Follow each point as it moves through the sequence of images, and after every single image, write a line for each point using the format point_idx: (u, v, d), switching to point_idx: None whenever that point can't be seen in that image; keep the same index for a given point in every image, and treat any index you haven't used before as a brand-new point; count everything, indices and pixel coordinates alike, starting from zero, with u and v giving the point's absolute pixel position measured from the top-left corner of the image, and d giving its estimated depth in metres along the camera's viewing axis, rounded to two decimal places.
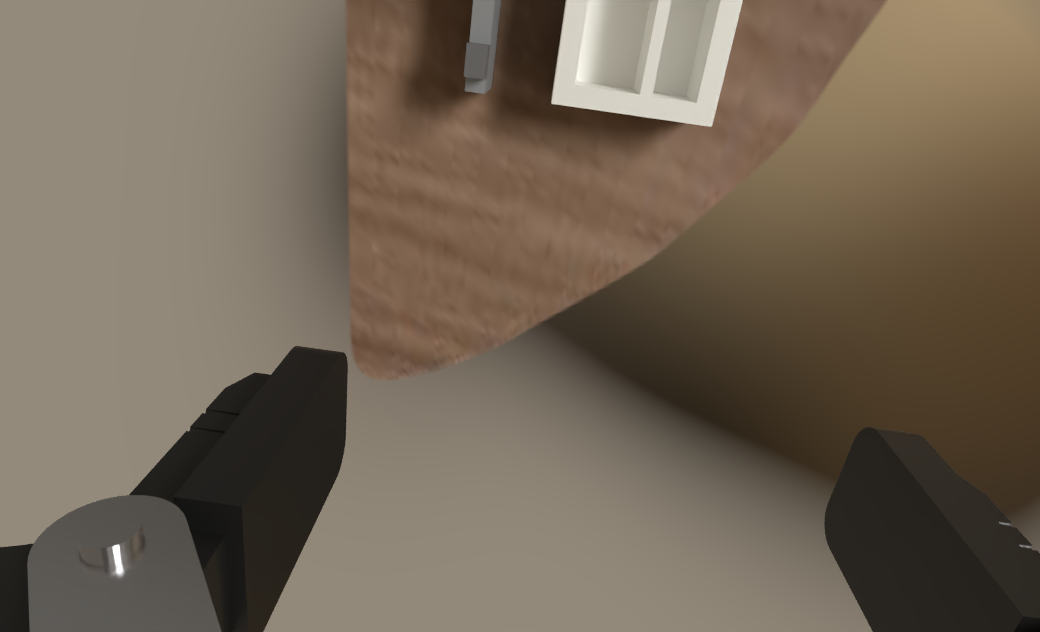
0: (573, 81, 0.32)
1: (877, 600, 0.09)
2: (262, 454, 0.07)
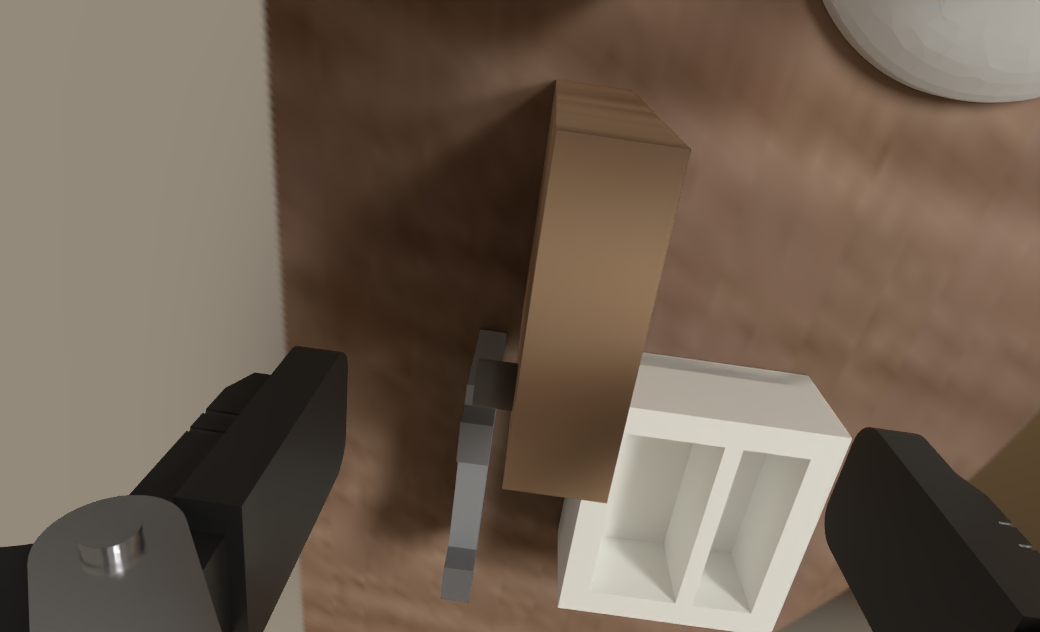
0: (587, 588, 0.24)
1: (876, 600, 0.09)
2: (262, 454, 0.07)
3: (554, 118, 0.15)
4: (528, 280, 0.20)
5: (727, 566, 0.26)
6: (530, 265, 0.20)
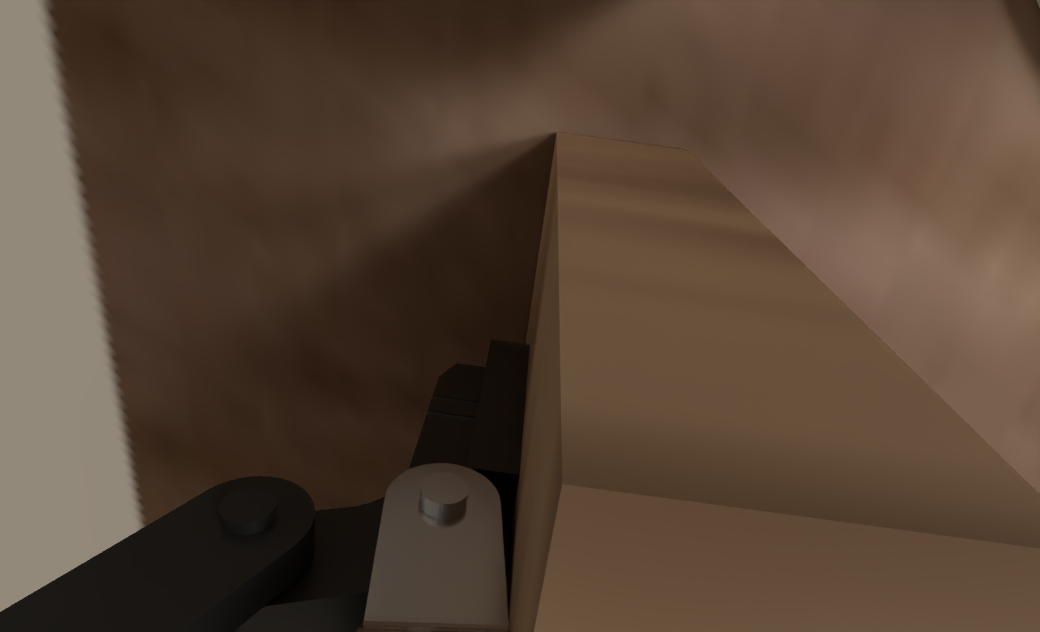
0: None
1: None
2: (517, 432, 0.08)
3: (553, 267, 0.06)
4: None
5: None
6: None
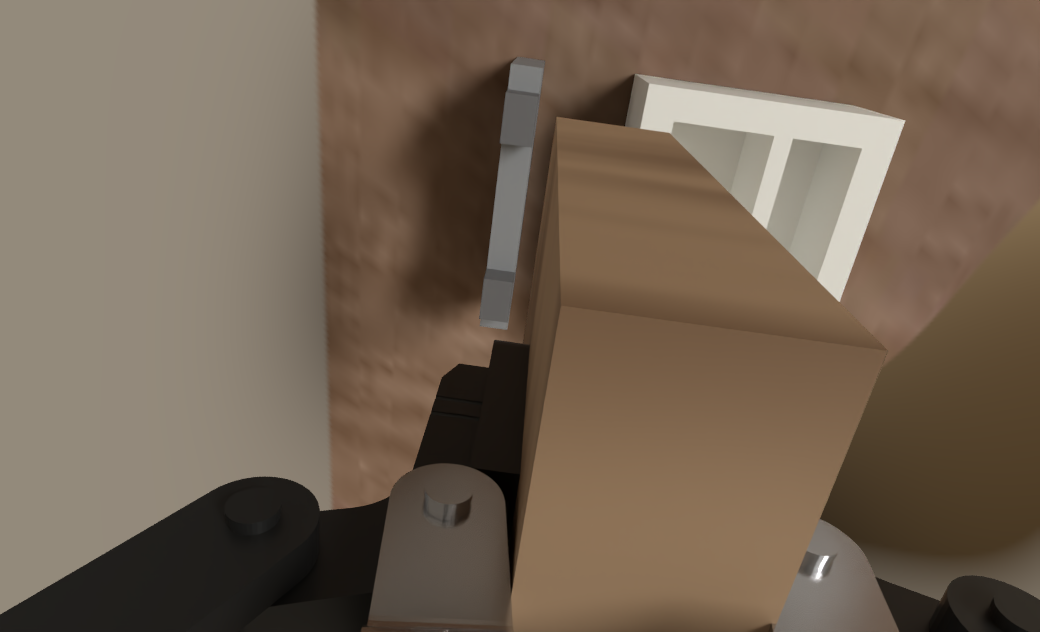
0: None
1: None
2: (521, 433, 0.08)
3: (554, 212, 0.08)
4: None
5: None
6: None
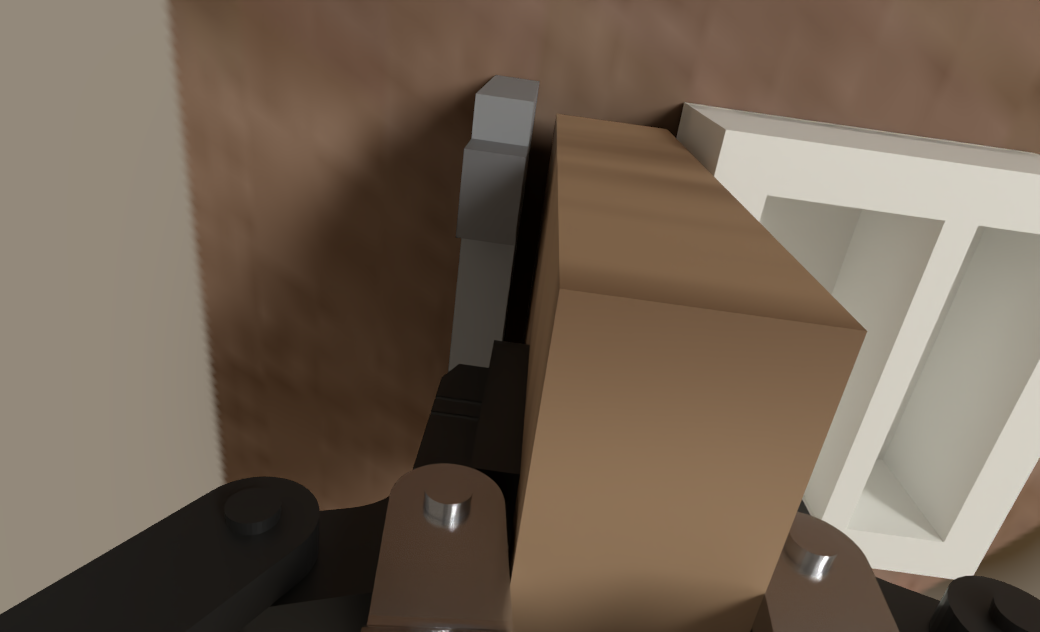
0: None
1: None
2: (520, 433, 0.08)
3: (554, 205, 0.08)
4: None
5: (883, 476, 0.17)
6: None
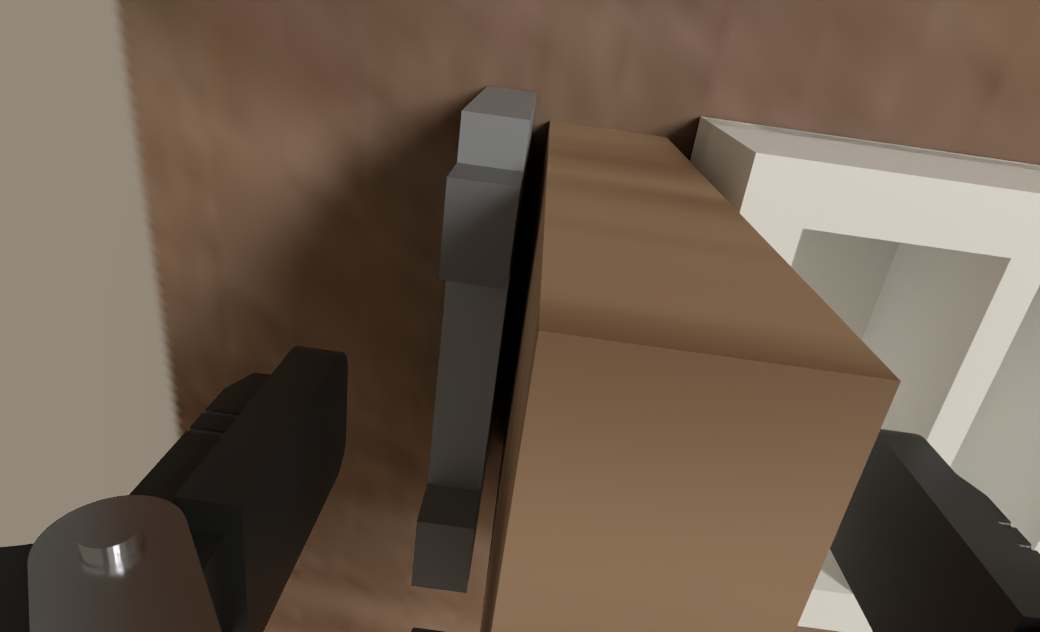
0: None
1: (876, 600, 0.09)
2: (262, 454, 0.07)
3: (542, 222, 0.08)
4: None
5: None
6: (509, 414, 0.13)
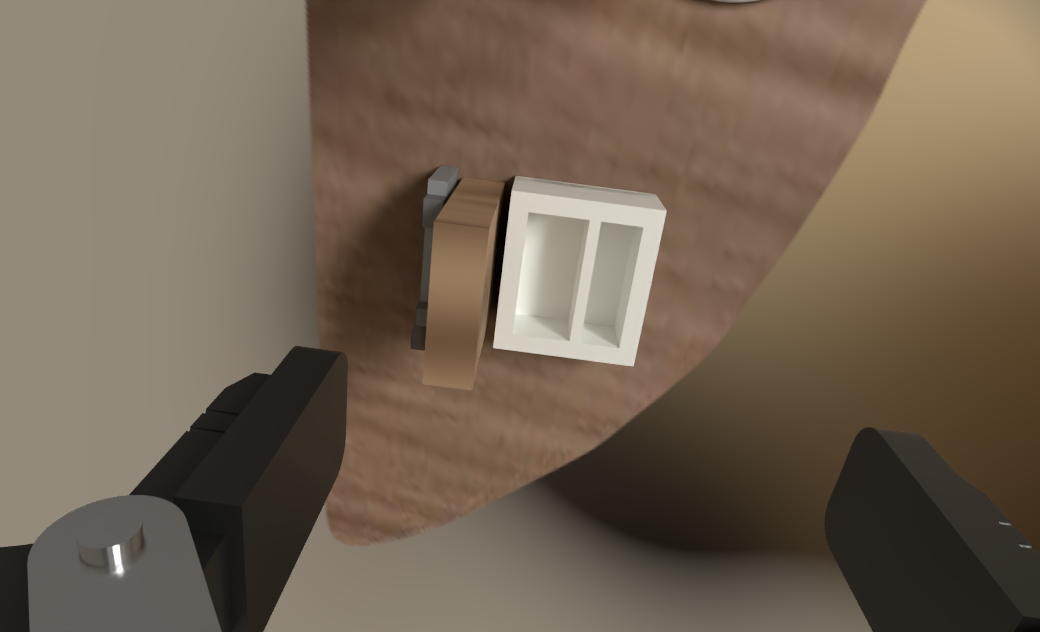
0: (511, 331, 0.37)
1: (877, 600, 0.09)
2: (262, 455, 0.07)
3: None
4: None
5: (609, 331, 0.39)
6: None
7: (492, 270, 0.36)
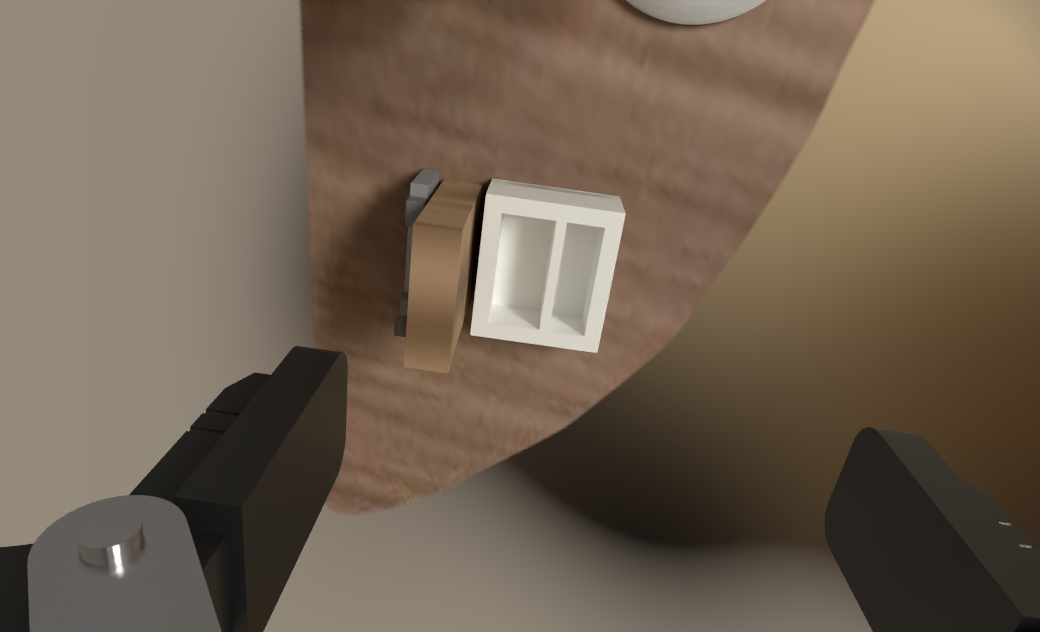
0: (486, 320, 0.41)
1: (877, 600, 0.09)
2: (262, 454, 0.07)
3: None
4: None
5: (577, 320, 0.43)
6: None
7: (469, 264, 0.40)
